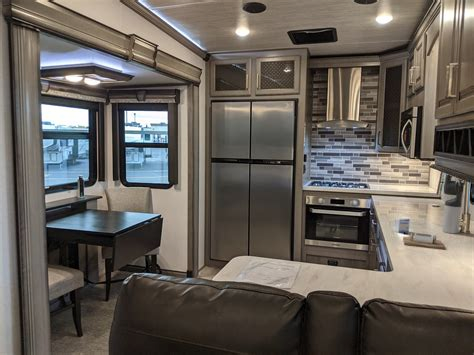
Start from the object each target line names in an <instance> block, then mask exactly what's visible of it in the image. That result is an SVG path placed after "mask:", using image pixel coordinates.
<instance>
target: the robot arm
mask: <svg viewBox="0 0 474 355" xmlns="http://www.w3.org/2000/svg"><path fill="white" fill-rule="evenodd" d="M452 178H453V176H450V175H447V174H446V173H445V179H444V184H443V194H444V195H449V196H455V197H454V198H451V199H446V200H445V201H444V210H443V211H444V212H443V218H442V219H443V220H442V221H443V222H442V232H444V233H447V234H455V235H457V234H459V233H460V226H461V225H460V222H461V214H462V213H461V211H462V202H463V196H464V189H465V185H466V180H465V181H463V180H460V179H457V178H456V177H455V180H452Z"/></svg>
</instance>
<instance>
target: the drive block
mask: <svg viewBox="0 0 474 355" xmlns="http://www.w3.org/2000/svg"><path fill="white" fill-rule="evenodd" d="M413 238H414V242H420V243H428V244H432V240H433V234H429V233H419V232H414V234H413Z"/></svg>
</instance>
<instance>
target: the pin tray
mask: <svg viewBox="0 0 474 355" xmlns="http://www.w3.org/2000/svg"><path fill="white" fill-rule="evenodd" d="M432 237H433V238H432V244H428V243H420V242H414V233H413V232H410V236H409V237H408V236H402V241H403V244H404V246H408V247H409V246H412V247H419V248H427V249H428V248H429V249H434V250H435V249H436V250H445V246H444V244H443V242H442V240H437V236H436V235H435V234H432Z"/></svg>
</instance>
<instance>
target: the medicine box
mask: <svg viewBox="0 0 474 355" xmlns="http://www.w3.org/2000/svg"><path fill="white" fill-rule="evenodd" d="M410 222H411V221H410V218H407V217H401V218H400V217H399V218H398V217H397V218H396V217H395V218H394V226H393V232H395V233H399V234H402V233H404V232H405V233H409V232H410ZM405 233H404V234H405Z"/></svg>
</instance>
